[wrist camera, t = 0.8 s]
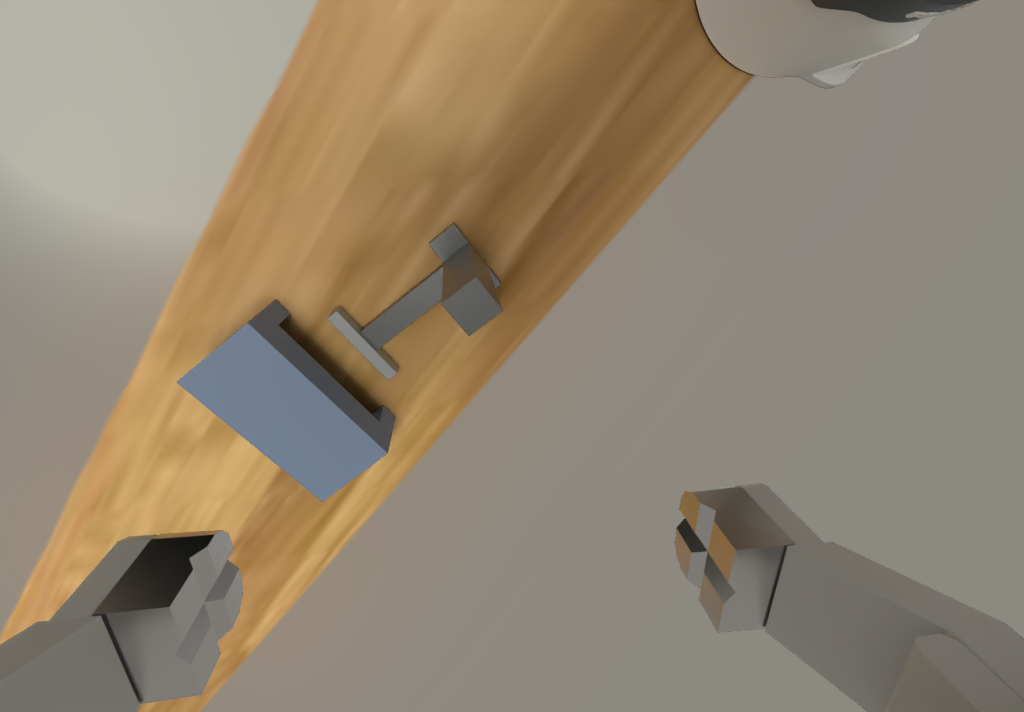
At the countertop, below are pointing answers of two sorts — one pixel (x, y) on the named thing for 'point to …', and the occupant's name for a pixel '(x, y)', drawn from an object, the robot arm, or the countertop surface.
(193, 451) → the countertop surface
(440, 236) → the scraper
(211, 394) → the blue-grey bridge block
